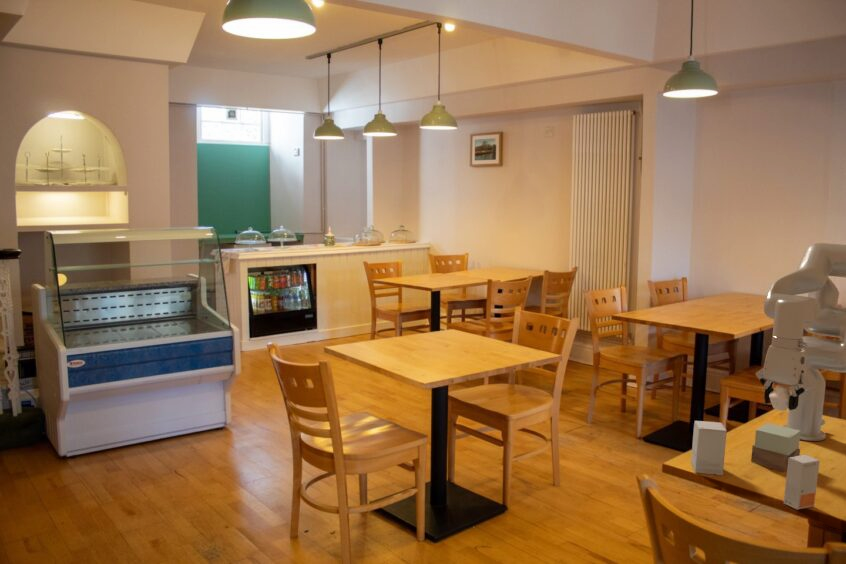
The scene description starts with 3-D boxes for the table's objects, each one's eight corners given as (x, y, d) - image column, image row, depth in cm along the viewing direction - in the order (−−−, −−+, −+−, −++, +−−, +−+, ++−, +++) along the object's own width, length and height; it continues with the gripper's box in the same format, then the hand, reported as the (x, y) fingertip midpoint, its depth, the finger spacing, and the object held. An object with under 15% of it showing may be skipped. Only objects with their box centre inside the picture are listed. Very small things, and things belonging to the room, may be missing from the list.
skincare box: (797, 510, 177) (802, 463, 175) (782, 503, 180) (787, 457, 179) (815, 506, 179) (820, 460, 177) (800, 499, 183) (805, 454, 181)
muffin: (772, 404, 209) (775, 380, 208) (795, 409, 205) (798, 385, 204) (764, 408, 205) (766, 384, 204) (787, 413, 200) (789, 389, 200)
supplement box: (723, 475, 197) (727, 430, 195) (694, 473, 198) (698, 428, 196) (718, 465, 204) (722, 422, 202) (690, 462, 205) (693, 419, 204)
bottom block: (767, 456, 213) (769, 439, 213) (798, 466, 206) (800, 449, 205) (751, 462, 208) (752, 445, 207) (782, 472, 201) (783, 455, 200)
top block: (765, 439, 213) (767, 422, 212) (798, 447, 207) (800, 430, 206) (754, 446, 206) (756, 429, 206) (788, 455, 200) (790, 438, 199)
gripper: (825, 347, 198) (818, 412, 200) (764, 336, 211) (758, 396, 214) (811, 350, 193) (804, 416, 196) (749, 338, 207) (744, 400, 209)
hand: (780, 405), depth 205 cm, fingers closed on muffin, 6 cm apart
